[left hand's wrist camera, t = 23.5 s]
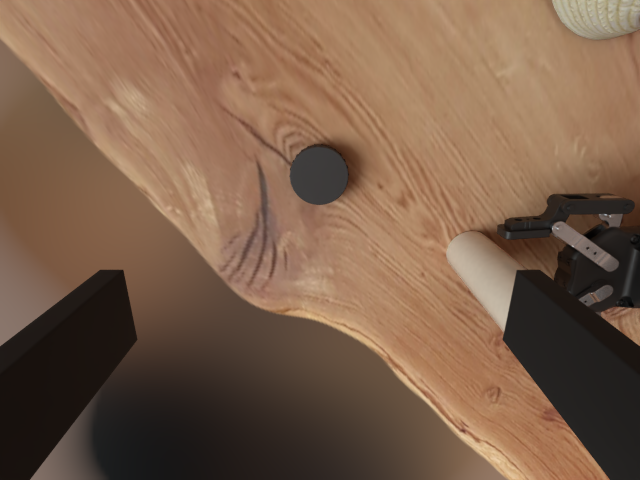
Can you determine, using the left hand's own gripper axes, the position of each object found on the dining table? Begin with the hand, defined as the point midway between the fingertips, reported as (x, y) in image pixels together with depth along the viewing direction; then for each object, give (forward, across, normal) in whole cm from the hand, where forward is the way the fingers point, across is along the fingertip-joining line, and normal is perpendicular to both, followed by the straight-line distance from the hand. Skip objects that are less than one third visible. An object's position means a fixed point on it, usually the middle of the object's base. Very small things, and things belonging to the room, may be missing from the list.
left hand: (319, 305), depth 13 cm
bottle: (+27, +16, -9) cm, 33 cm away
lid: (+25, 0, 0) cm, 25 cm away
